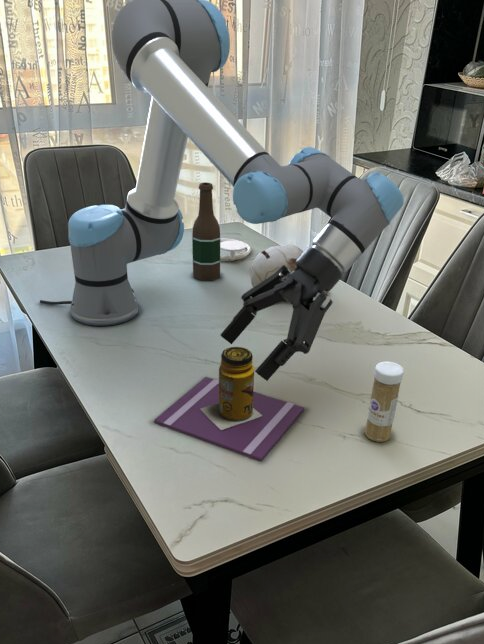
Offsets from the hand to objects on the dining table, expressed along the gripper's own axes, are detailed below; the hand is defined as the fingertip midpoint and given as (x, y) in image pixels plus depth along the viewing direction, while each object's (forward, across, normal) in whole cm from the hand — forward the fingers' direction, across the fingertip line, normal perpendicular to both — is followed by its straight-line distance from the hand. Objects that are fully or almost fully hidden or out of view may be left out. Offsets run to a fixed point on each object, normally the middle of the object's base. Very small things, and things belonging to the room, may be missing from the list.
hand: (242, 357), depth 101 cm
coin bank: (-16, +44, -33) cm, 57 cm away
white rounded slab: (-14, +77, -31) cm, 84 cm away
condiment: (+9, 0, -6) cm, 11 cm away
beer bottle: (-6, +62, -22) cm, 67 cm away
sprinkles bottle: (-5, -16, -21) cm, 27 cm away
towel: (+10, 0, -7) cm, 12 cm away
